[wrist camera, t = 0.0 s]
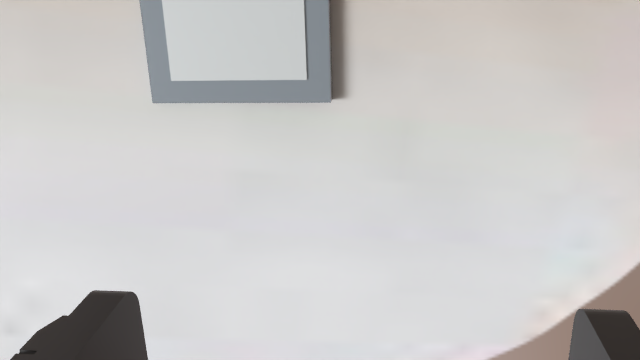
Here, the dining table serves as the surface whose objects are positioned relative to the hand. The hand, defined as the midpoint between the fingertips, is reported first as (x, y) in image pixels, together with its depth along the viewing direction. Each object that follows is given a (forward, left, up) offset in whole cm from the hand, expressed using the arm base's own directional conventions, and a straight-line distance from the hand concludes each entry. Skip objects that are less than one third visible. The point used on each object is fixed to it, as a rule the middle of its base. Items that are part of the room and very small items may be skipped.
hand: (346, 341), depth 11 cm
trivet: (-4, -9, -29) cm, 31 cm away
